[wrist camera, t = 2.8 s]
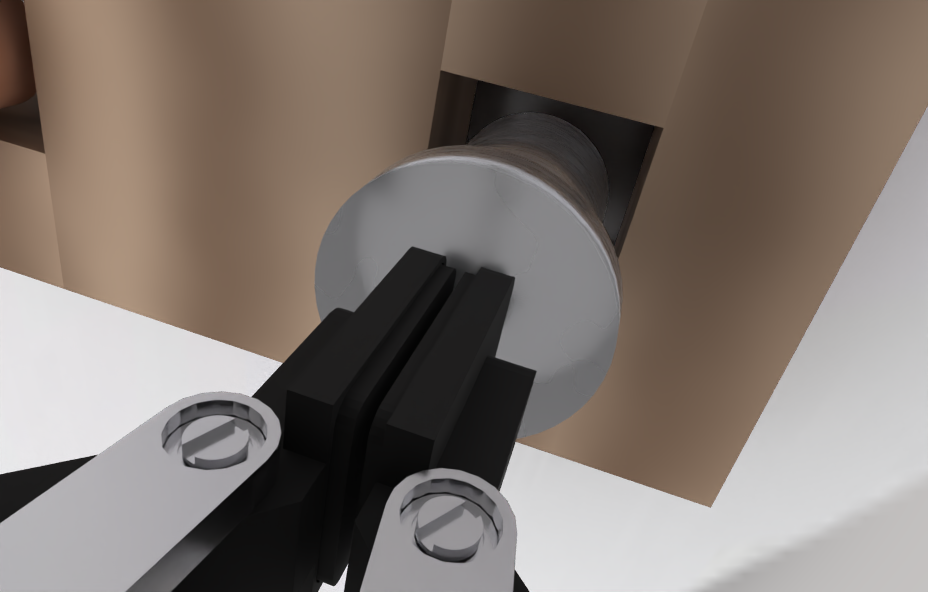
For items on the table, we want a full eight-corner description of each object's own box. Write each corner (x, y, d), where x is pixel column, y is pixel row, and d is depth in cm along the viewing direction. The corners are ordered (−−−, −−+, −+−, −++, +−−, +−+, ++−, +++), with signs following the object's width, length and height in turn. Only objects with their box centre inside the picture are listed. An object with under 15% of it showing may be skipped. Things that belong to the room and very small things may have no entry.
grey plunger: (669, 113, 15) (664, 218, 10) (603, 308, 18) (568, 478, 12) (449, 57, 16) (327, 123, 10) (417, 251, 18) (305, 388, 13)
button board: (940, -65, 15) (1018, -64, 11) (705, 418, 22) (710, 507, 18) (-176, -295, 19) (-362, -344, 16) (-68, 171, 26) (-179, 206, 23)
